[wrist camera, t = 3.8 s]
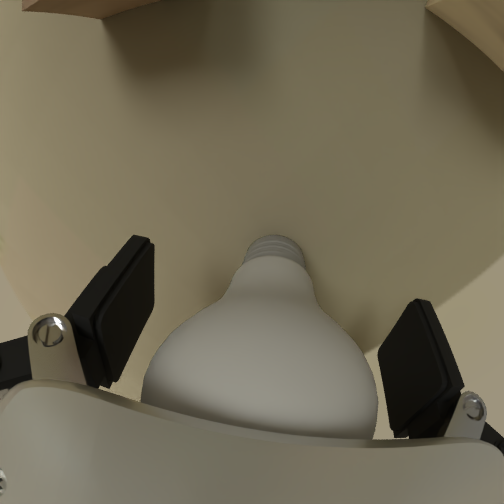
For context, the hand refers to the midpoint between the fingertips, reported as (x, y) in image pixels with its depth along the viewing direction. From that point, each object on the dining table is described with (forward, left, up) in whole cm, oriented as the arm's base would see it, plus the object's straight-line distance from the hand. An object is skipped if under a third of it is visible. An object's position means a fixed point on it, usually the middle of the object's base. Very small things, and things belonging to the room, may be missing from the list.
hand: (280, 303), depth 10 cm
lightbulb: (0, 0, -4) cm, 4 cm away
